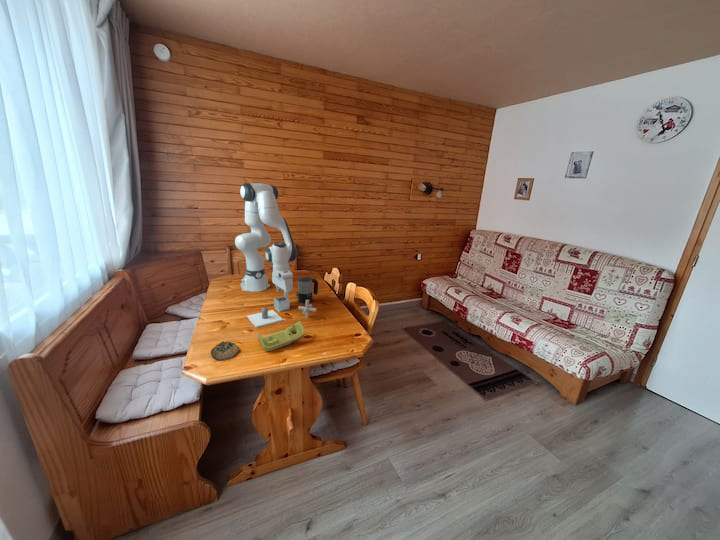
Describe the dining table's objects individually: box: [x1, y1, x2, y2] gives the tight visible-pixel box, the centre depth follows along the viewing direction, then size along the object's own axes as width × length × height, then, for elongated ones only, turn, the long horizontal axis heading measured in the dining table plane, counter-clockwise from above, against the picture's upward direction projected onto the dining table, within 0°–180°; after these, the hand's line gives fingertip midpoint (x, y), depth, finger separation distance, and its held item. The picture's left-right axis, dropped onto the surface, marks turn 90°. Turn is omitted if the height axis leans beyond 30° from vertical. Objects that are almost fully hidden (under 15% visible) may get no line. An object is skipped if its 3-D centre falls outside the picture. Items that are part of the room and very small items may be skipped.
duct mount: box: [247, 307, 284, 329], centre depth 147 cm, size 14×14×6 cm
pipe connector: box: [297, 300, 317, 319], centre depth 151 cm, size 10×10×10 cm
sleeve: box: [273, 295, 291, 313], centre depth 161 cm, size 7×7×6 cm
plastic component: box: [257, 320, 305, 352], centre depth 127 cm, size 20×7×10 cm
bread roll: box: [210, 340, 241, 361], centre depth 117 cm, size 11×11×5 cm
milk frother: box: [295, 276, 319, 304], centre depth 176 cm, size 14×16×15 cm
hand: (282, 294), depth 159 cm, fingers open, 8 cm apart
